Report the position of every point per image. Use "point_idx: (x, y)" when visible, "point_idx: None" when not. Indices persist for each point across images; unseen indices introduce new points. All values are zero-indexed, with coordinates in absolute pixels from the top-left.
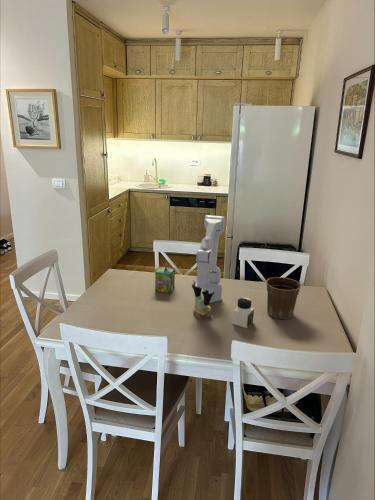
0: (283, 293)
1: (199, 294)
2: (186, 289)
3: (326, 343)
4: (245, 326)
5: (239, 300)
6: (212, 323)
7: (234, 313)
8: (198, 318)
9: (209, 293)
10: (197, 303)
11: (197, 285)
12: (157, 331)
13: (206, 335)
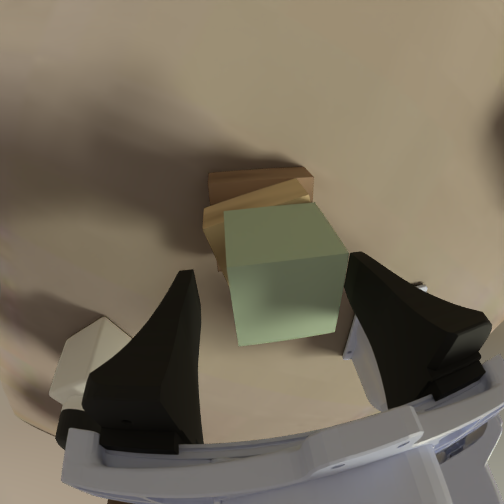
0: (109, 501)
1: (363, 310)
2: (494, 263)
3: (24, 410)
4: (67, 342)
5: None
6: (129, 229)
7: (85, 367)
8: (224, 171)
9: (69, 431)
10: (281, 226)
11: (336, 469)
12: None
13: (17, 143)
